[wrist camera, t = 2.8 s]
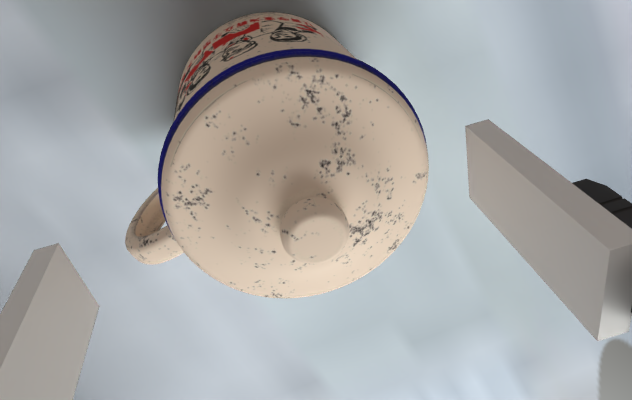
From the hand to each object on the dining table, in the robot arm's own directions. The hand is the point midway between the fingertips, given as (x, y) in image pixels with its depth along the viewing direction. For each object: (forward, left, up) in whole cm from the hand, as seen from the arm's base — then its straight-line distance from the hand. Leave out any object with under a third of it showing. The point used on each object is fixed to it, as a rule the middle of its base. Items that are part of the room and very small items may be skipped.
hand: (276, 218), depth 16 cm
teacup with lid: (0, 0, -10) cm, 10 cm away
